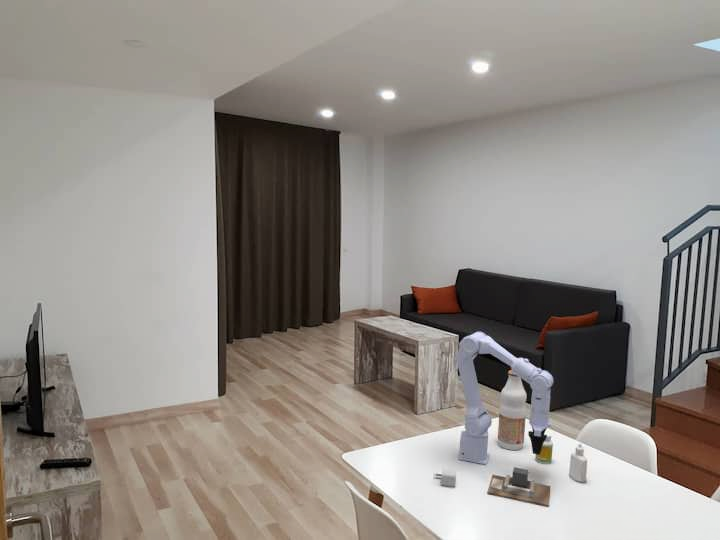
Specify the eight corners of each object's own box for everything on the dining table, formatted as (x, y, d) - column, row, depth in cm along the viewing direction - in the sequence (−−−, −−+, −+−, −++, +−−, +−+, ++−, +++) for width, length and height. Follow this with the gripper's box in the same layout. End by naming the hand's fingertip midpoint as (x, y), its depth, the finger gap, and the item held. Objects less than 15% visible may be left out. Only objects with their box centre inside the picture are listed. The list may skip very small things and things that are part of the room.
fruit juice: (504, 451, 198) (509, 376, 195) (492, 440, 208) (497, 368, 204) (528, 449, 201) (533, 375, 197) (515, 438, 210) (520, 367, 206)
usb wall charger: (455, 487, 172) (455, 475, 172) (432, 485, 173) (433, 473, 173) (455, 481, 176) (456, 469, 175) (433, 478, 177) (434, 467, 177)
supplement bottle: (548, 465, 189) (550, 438, 187) (533, 460, 192) (534, 434, 191) (553, 460, 193) (555, 433, 192) (538, 455, 196) (540, 429, 195)
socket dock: (487, 493, 169) (487, 486, 169) (492, 476, 180) (492, 468, 180) (548, 507, 163) (549, 498, 162) (550, 487, 174) (550, 480, 173)
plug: (511, 490, 170) (512, 471, 170) (512, 485, 174) (513, 467, 173) (526, 493, 169) (527, 474, 168) (527, 488, 172) (528, 469, 171)
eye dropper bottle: (572, 482, 178) (575, 447, 176) (568, 474, 183) (571, 439, 182) (586, 483, 177) (589, 448, 176) (581, 475, 183) (584, 440, 181)
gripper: (552, 419, 170) (549, 460, 172) (553, 403, 184) (550, 442, 185) (528, 415, 173) (525, 456, 174) (531, 400, 186) (528, 438, 188)
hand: (537, 448), depth 180 cm, fingers open, 7 cm apart
